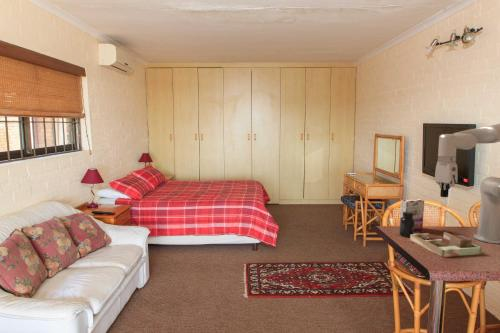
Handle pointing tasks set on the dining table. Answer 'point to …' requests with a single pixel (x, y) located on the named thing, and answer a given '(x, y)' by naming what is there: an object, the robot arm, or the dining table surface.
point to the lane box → (435, 244)
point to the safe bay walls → (466, 249)
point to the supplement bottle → (407, 224)
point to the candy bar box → (414, 211)
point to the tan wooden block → (460, 241)
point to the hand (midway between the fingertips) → (444, 196)
